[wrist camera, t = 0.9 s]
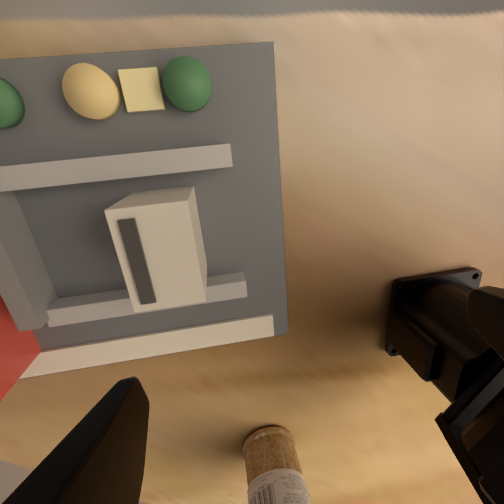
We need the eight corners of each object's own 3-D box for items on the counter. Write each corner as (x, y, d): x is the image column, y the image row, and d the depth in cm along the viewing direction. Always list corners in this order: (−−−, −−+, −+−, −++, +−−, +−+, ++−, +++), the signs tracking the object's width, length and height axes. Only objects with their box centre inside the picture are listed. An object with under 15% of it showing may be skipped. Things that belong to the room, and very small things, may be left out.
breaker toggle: (193, 185, 14) (187, 201, 10) (207, 264, 16) (205, 303, 12) (132, 192, 14) (102, 211, 10) (152, 271, 15) (133, 314, 11)
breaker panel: (268, 49, 13) (284, 23, 10) (284, 322, 19) (297, 355, 16) (-204, 82, 11) (-347, 61, 9) (-24, 373, 17) (-72, 420, 14)
